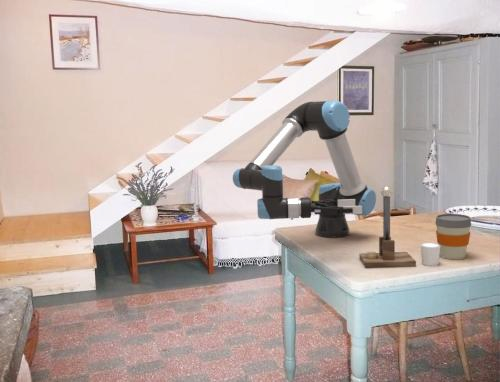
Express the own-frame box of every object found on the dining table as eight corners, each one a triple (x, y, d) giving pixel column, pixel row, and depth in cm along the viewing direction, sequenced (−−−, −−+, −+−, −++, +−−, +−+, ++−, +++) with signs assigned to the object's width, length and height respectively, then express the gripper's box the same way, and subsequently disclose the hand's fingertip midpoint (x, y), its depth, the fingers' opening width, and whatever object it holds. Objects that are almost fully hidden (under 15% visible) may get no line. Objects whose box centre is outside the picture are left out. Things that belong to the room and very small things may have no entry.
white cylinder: (421, 266, 189) (421, 247, 188) (419, 260, 195) (419, 242, 194) (441, 266, 187) (441, 247, 186) (438, 260, 194) (439, 242, 193)
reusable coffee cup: (454, 249, 207) (455, 212, 205) (477, 258, 195) (479, 218, 193) (427, 253, 203) (428, 215, 201) (450, 262, 191) (450, 222, 189)
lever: (380, 249, 196) (379, 185, 192) (390, 249, 196) (390, 185, 192) (382, 252, 192) (382, 187, 188) (393, 252, 192) (393, 187, 188)
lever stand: (359, 258, 201) (359, 235, 200) (406, 256, 200) (406, 233, 199) (365, 268, 189) (365, 244, 188) (415, 266, 189) (416, 242, 187)
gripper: (297, 211, 204) (352, 209, 204) (302, 225, 180) (364, 223, 179) (297, 192, 203) (352, 190, 203) (302, 203, 179) (364, 202, 178)
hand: (358, 206), depth 191 cm, fingers open, 13 cm apart
